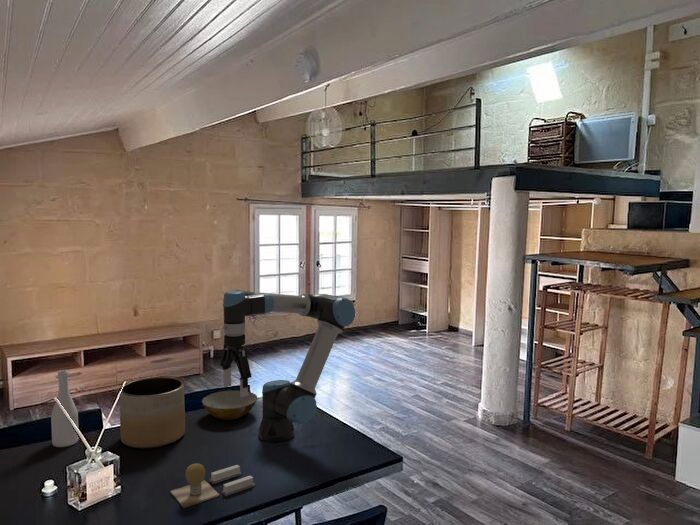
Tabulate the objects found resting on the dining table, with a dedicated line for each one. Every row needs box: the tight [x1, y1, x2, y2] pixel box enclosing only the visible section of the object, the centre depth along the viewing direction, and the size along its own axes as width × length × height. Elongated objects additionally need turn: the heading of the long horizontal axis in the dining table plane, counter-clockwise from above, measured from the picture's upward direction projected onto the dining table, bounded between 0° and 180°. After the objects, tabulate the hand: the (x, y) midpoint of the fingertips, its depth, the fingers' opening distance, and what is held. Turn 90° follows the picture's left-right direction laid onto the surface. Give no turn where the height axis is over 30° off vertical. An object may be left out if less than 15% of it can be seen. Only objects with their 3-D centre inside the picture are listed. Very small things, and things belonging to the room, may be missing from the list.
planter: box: [119, 376, 186, 450], centre depth 218 cm, size 25×25×22 cm
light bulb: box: [185, 463, 206, 495], centre depth 174 cm, size 6×6×10 cm
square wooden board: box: [169, 479, 220, 509], centre depth 175 cm, size 12×12×1 cm
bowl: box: [201, 389, 258, 421], centre depth 244 cm, size 25×25×8 cm
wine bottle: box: [50, 369, 80, 448], centre depth 212 cm, size 10×10×30 cm
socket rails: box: [209, 464, 256, 497], centre depth 182 cm, size 13×11×3 cm
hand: (235, 391), depth 192 cm, fingers open, 13 cm apart
